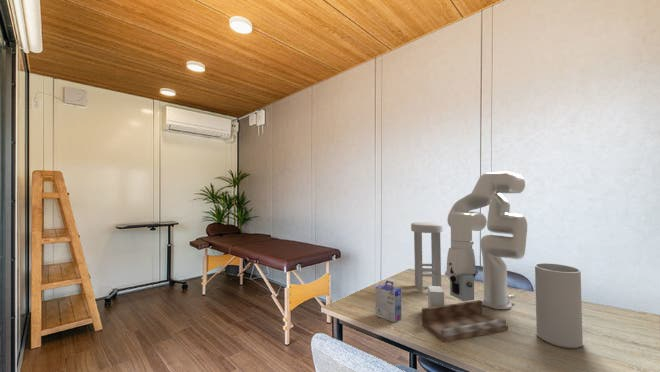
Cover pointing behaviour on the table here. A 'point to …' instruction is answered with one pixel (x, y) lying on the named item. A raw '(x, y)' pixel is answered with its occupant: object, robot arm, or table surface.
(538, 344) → the table surface
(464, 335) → the wooden ridged tray
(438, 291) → the small box
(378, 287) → the ink cartridge box
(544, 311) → the cylinder vase
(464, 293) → the cabinet block
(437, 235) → the stool
